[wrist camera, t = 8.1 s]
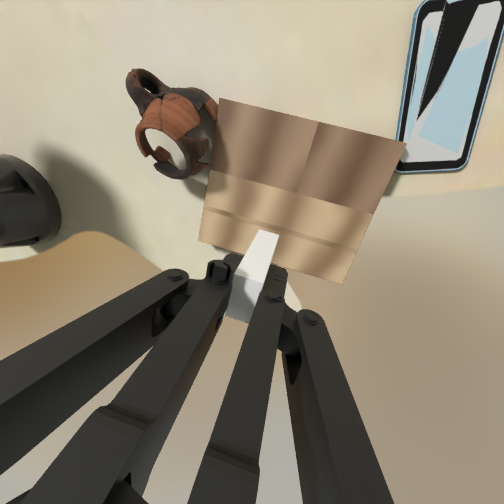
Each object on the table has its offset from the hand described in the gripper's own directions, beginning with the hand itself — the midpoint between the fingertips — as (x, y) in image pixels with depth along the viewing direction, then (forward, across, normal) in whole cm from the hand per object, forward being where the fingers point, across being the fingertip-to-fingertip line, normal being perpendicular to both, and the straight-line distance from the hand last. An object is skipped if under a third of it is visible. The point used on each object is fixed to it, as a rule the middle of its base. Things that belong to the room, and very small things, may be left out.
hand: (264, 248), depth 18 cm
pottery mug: (+17, -15, +6) cm, 23 cm away
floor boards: (+16, 0, +6) cm, 17 cm away
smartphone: (+17, +12, +14) cm, 25 cm away
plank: (+16, 0, -4) cm, 16 cm away
